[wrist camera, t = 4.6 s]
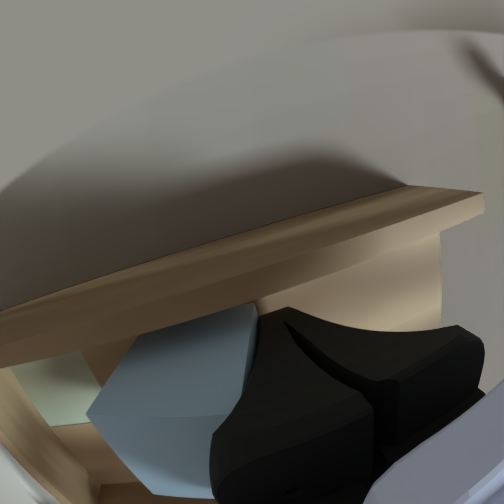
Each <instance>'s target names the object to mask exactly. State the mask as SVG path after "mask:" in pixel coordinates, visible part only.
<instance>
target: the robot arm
mask: <svg viewBox="0 0 504 504" xmlns="http://www.w3.org/2000/svg"><path fill="white" fill-rule="evenodd" d="M257 324H258V347H257V353H256V358H255V363H254V366H253V370H252V373H251V375H250V378H249V380H248V383H247V385H246V387H245V390H244V392H243V394H242V395H241V397H240V399H239V400H238V402H237V404H236V405H235V407H234V408H233V410H232V412H231V413H230V414H229V416H228V417H227V418H226V419H225V420H224V422H223V423H222V424H221V425H220V426H219V427H218V429H217V430H216V431H215V432H214V433H213V434H212V439H211V446H210V455H209V476H210V483H211V489H212V494H213V496H214V498H215V500H216V502H217V503H218V504H504V379H503V380H502V381H501V382H500V383H499V384H498V385H497V386H495V387H494V388H493V389H492V390H491V391H490V392H489V393H488V394H486V395H485V393H484V392H483V391H481V390H480V389H479V388H478V385H479V381H480V377H481V373H482V368H483V364H484V356H485V350H484V344H483V342H482V341H481V339H480V338H479V337H477V336H475V335H474V334H472V333H470V332H469V331H467V330H465V329H464V328H462V327H460V326H459V325H454V326H449V327H443V328H437V329H431V330H423V331H409V332H390V331H374V330H366V329H359V328H353V327H348V326H344V325H340V324H337V323H333V322H330V321H326V320H323V319H320V318H318V317H315V316H312V315H309V314H307V313H304V312H302V311H299V310H297V309H294V308H292V307H289V306H287V307H284V308H281V309H279V310H276V311H273V312H270V313H267V314H264V315H261V316H258V323H257Z"/></svg>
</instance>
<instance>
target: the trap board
mask: <svg viewBox="0 0 504 504" xmlns="http://www.w3.org/2000/svg"><path fill="white" fill-rule="evenodd" d="M483 213H485V210H484V197H483V193H481V192H473V191H464V190H455V189H446V188H435V187H424V186H411V185H408V186H404V187H400V188H396V189H393V190H389V191H385V192H382V193H378V194H374V195H371V196H367V197H364V198H360V199H356V200H353V201H349V202H346V203H342V204H339V205H335V206H331V207H328V208H324V209H321V210H317V211H314V212H310V213H307V214H303V215H300V216H297V217H293V218H290V219H286V220H283V221H279V222H276V223H273V224H269V225H266V226H262V227H259V228H256V229H252V230H249V231H246V232H242V233H239V234H236V235H232V236H229V237H226V238H223V239H219V240H216V241H213V242H209V243H206V244H203V245H200V246H196V247H193V248H190V249H187V250H184V251H180V252H177V253H174V254H171V255H168V256H165V257H161V258H158V259H155V260H152V261H149V262H146V263H142V264H139V265H136V266H133V267H130V268H127V269H124V270H121V271H118V272H115V273H112V274H109V275H105V276H102V277H99V278H96V279H93V280H90V281H87V282H84V283H81V284H78V285H75V286H72V287H69V288H66V289H63V290H61V291H58V292H55V293H52V294H49V295H46V296H43V297H40V298H37V299H34V300H31V301H28V302H26V303H23V304H20V305H17V306H14V307H11V308H9V309H6V310H3V311H0V442H1V443H2V445H3V446H4V447H5V448H6V449H7V450H8V452H9V453H10V454H11V455H12V456H13V457H14V458H15V459H16V460H17V462H18V463H19V464H20V465H21V466H22V467H23V468H24V469H25V470H26V471H27V472H28V473H29V474H30V475H31V476H32V477H33V478H34V479H35V480H36V481H37V482H38V483H39V484H40V485H41V486H43V487H44V488H45V489H46V490H47V491H48V492H49V493H50V494H51V495H52V496H54V497H55V498H56V499H57V500H58V501H59V502H61V503H62V504H218V503H217V502H216V500H215V499H206V498H187V497H175V496H165V495H156V494H153V493H152V492H151V491H150V490H149V489H148V488H147V487H146V486H145V485H144V484H143V483H142V482H141V481H140V480H139V479H138V478H137V477H136V476H135V475H134V474H133V473H132V471H131V470H130V469H129V468H128V467H127V466H126V465H125V464H124V462H123V461H122V460H121V459H120V458H119V457H118V456H117V454H116V453H115V452H114V451H113V450H112V448H111V447H110V446H109V445H108V443H107V442H106V441H105V440H104V438H103V437H102V436H101V435H100V433H99V432H98V431H97V429H96V428H95V427H94V425H93V424H92V423H91V421H90V420H89V419H88V417H87V416H86V412H87V410H88V409H89V407H90V406H91V404H92V403H93V401H94V400H95V398H96V397H97V395H98V394H99V392H100V391H101V389H102V388H103V386H104V385H105V383H106V382H107V380H108V379H109V377H110V376H111V374H112V373H113V372H114V370H115V369H116V367H117V366H118V364H119V363H120V361H121V360H122V358H123V357H124V356H125V354H126V353H127V351H128V350H129V348H130V347H131V345H132V344H133V343H134V341H135V340H136V338H137V337H138V336H139V335H141V334H144V333H148V332H151V331H155V330H158V329H162V328H165V327H169V326H172V325H176V324H179V323H182V322H186V321H189V320H192V319H196V318H199V317H202V316H206V315H209V314H212V313H215V312H218V311H222V310H225V309H228V308H231V307H234V306H239V305H244V304H249V303H254V304H255V307H256V311H257V315H258V316H261V315H264V314H267V313H270V312H273V311H276V310H279V309H281V308H284V307H287V306H289V307H292V308H294V309H297V310H299V311H302V312H304V313H307V314H309V315H312V316H315V317H318V318H320V319H323V320H326V321H330V322H333V323H337V324H340V325H344V326H348V327H353V328H359V329H366V330H374V331H390V332H409V331H423V330H431V329H437V328H440V324H441V249H440V233H439V232H440V231H443V230H445V229H448V228H450V227H452V226H455V225H457V224H459V223H462V222H464V221H466V220H469V219H471V218H473V217H476V216H478V215H480V214H483Z"/></svg>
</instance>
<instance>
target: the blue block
mask: <svg viewBox="0 0 504 504" xmlns="http://www.w3.org/2000/svg"><path fill="white" fill-rule="evenodd" d="M257 323H258V315H257V311H256V307H255V304H254V303H249V304H244V305H239V306H234V307H231V308H228V309H225V310H222V311H218V312H215V313H212V314H209V315H206V316H202V317H199V318H196V319H192V320H189V321H186V322H182V323H179V324H176V325H172V326H169V327H165V328H162V329H158V330H155V331H151V332H148V333H144V334H141V335H139V336H138V337H137V338H136V340H135V341H134V343H133V344H132V345H131V347H130V348H129V350H128V351H127V353H126V354H125V356H124V357H123V358H122V360H121V361H120V363H119V364H118V366H117V367H116V369H115V370H114V372H113V373H112V374H111V376H110V377H109V379H108V380H107V382H106V383H105V385H104V386H103V388H102V389H101V391H100V392H99V394H98V395H97V397H96V398H95V400H94V401H93V403H92V404H91V406H90V407H89V409H88V410H87V412H86V416H87V417H88V419H89V420H90V421H91V423H92V424H93V425H94V427H95V428H96V429H97V431H98V432H99V433H100V435H101V436H102V437H103V438H104V440H105V441H106V442H107V443H108V445H109V446H110V447H111V448H112V450H113V451H114V452H115V453H116V454H117V456H118V457H119V458H120V459H121V460H122V461H123V462H124V464H125V465H126V466H127V467H128V468H129V469H130V470H131V471H132V473H133V474H134V475H135V476H136V477H137V478H138V479H139V480H140V481H141V482H142V483H143V484H144V485H145V486H146V487H147V488H148V489H149V490H150V491H151V492H152V493H153V494H156V495H165V496H175V497H187V498H206V499H215V498H214V496H213V494H212V489H211V483H210V476H209V455H210V446H211V439H212V434H213V433H214V432H215V431H216V430H217V429H218V427H219V426H220V425H221V424H222V423H223V422H224V420H225V419H226V418H227V417H228V416H229V414H230V413H231V412H232V410H233V408H234V407H235V405H236V404H237V402H238V400H239V399H240V397H241V395H242V394H243V392H244V390H245V387H246V385H247V383H248V380H249V378H250V375H251V373H252V370H253V366H254V363H255V358H256V353H257V347H258V324H257Z"/></svg>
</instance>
